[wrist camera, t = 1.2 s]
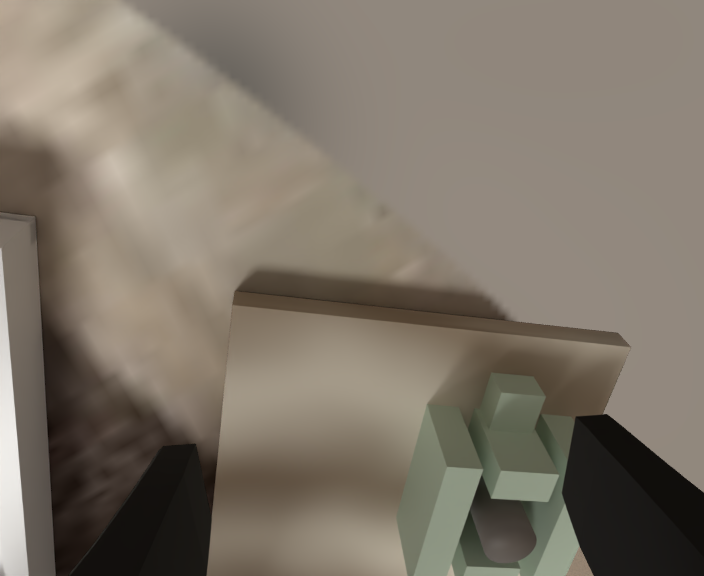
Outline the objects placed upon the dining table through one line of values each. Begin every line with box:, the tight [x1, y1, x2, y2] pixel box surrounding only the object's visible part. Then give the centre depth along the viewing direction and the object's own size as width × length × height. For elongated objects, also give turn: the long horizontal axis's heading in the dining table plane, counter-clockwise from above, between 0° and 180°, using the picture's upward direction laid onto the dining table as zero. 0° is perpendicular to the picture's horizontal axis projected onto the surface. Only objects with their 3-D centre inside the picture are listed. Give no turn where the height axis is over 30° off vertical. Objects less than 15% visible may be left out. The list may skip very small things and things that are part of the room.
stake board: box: [207, 291, 631, 576], centre depth 23 cm, size 16×14×5 cm
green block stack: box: [396, 372, 580, 576], centre depth 22 cm, size 7×6×3 cm
